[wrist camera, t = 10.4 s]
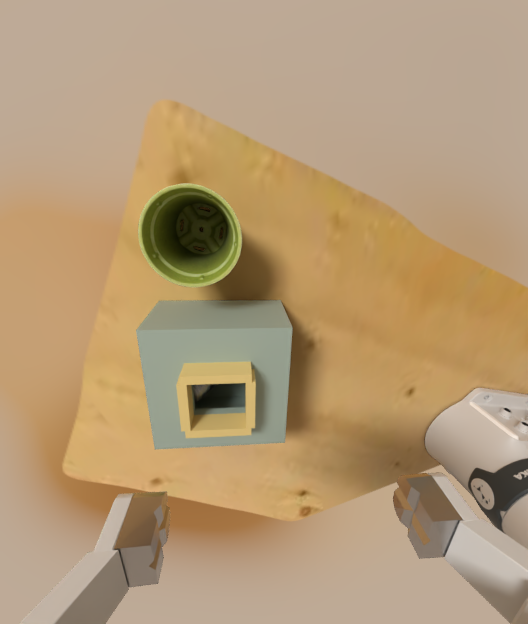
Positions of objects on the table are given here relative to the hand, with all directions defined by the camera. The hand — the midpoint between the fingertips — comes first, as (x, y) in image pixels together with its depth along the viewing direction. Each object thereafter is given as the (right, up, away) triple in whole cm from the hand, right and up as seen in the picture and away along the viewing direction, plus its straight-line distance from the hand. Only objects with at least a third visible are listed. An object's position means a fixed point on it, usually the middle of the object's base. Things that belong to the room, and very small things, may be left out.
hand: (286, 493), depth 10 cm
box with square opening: (-7, 0, +31) cm, 31 cm away
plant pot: (-8, +16, +24) cm, 31 cm away
